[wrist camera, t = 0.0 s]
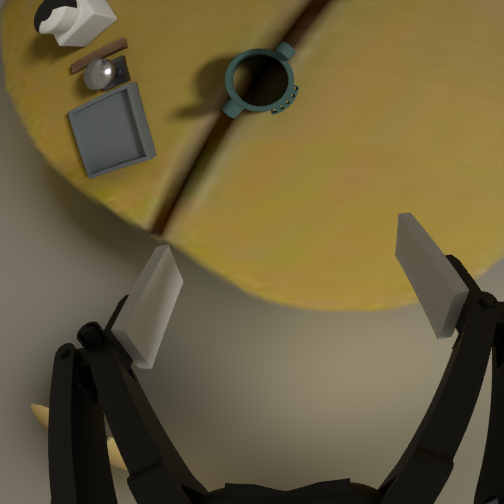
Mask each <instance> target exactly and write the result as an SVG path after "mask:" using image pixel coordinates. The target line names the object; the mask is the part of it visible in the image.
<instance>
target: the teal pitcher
mask: <svg viewBox="0 0 504 504" xmlns="http://www.w3.org/2000/svg"><path fill="white" fill-rule="evenodd" d="M294 54H295V50H294V49H293V48H292V47H291V46H290V45H288V44H287V43H285V42H282V43H281V44H280V45H279V46H278V47H277V48H276V52H274V51H271V50H267V49H251V50H247V51H245V52H243V53H241V54H239V55H238V56H236V57H235V58H234V59H233V60H232V62H231V63H230V64H229V66H228V68H227V71H226V74H225V85H226V89H227V92H228V94H229V95H230V97H231V98H232V99H231V100H229V101H228V102H227V103H226V104H225V105H224V107H223V108H222V110H223V111H224V112H225V113H226V114H227V115H229V116H230V117H232V118H236V117H237V116H238V115H239V114H240V113H241V112H242V110H243V109H244V108H245V109H248V110H251V111H259V112H262V111H268V110H271V113H272V114H273V115H274V114H277V113H280V112H281V111H283V110H285V109H286V108H288V107H289V106H290V105H291V104H292V103H293V101H294V100H295V98H296V96H297V94H298V90H299V87H298V86H296V85H294V75H293V71H292V69H291V67H290V65H289V63H288V62H287V61H288V60H289V59H290V58H291V57H292V56H293V55H294ZM256 55H266V56H270V57H272V58H275V59H276V60H278V61H279V62H280V63H281V64H282V65H283V66H284V68H285V69H286V72H287V75H288V85H287V89H286V91H285V93H284V94H283V96H282V97H281V98H280V99H279V100H277V101H276V102H274V103H272V104H269V105H265V106H255V105H251V104H249V103H247V102H245V101H244V100H242V99H241V98H240V97H239V96H238V94H237V93H236V91H235V89H234V85H233V76H234V72H235V70H236V68H237V67H238V65H239V64H240V63H241V62H242V61H244V60H245V59H247V58H249V57H252V56H256ZM294 87H296V90H294ZM291 94H293V97H291ZM287 100H288V101H289V102H288V103H286V101H287ZM281 105H282V106H283V107H282V108H280V106H281ZM274 109H276V111H273V110H274Z"/></svg>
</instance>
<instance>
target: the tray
mask: <svg viewBox="0 0 504 504" xmlns="http://www.w3.org/2000/svg"><path fill="white" fill-rule="evenodd" d="M68 115H69V118H70V122H71V125H72V129H73V132H74V135H75V138H76V142H77V145H78V148H79V151H80V154H81V157H82V160H83V163H84V166H85V169H86V171H87V174H88V177H89V179H91V178H94V177H97V176H99V175H102V174H105V173H108V172H111V171H114V170H117V169H120V168H123V167H127V166H130V165H133V164H136V163H140V162H143V161H146V160H150V159H152V158H153V157H155V156H156V155H157V154H156V151H155V147H154V144H153V141H152V137H151V134H150V130H149V127H148V123H147V120H146V116H145V112H144V109H143V105H142V101H141V97H140V93H139V90H138V86H137V83H128V84H126V85H124V86H121V87H119V88H117V89H114V90H112V91H110V92H108V93H105V94H103V95H101V96H99V97H97V98H95V99H93V100H91V101H89V102H87V103H85V104H83V105H81V106H79V107H77V108H75V109H73V110H72V111H70V112H68Z"/></svg>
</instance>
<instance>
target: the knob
mask: <svg viewBox="0 0 504 504" xmlns="http://www.w3.org/2000/svg"><path fill="white" fill-rule="evenodd" d="M128 81H131V80H130V76H129V72H128V68H127V63H126V59H125V56H120V57H118V58H115V59H113V60H111V61H110V60H108V59H96V60H94V61H92V62H91V63H90V64H89V65H88V66H87V68H86V70H85V73H84V82H85V84H86V86H87V87H88V88H90V89H92V90H98V89H104V91H108V90H110V89H112V88H114V87H116V86H119V85H121V84H123V83H126V82H128Z"/></svg>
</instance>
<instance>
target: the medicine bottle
mask: <svg viewBox="0 0 504 504" xmlns="http://www.w3.org/2000/svg"><path fill="white" fill-rule="evenodd" d="M116 20H117V17H116V16H115V14H114V12H113V11H112V9H111V8H110V6H109V5H108V3H107V1H106V0H44V1H43V2H42V4H41V5H40V6H39V8H38V10H37V12H36V14H35V17H34V26H35V29H36V31H37V32H38V33H41V34H53V35H54V37H55V39H56V41H57V42H58V44H59V46H80V47H86V46H87V45H88V44H89V43H90V42H91V41H93V40H94V39H95V38H96V37H97V36H98V35H99V34H100V33H102V32H103V31H104V30H105V29H106V28H107V27H109V26H110V25H111V24H112V23H114V22H115V21H116Z"/></svg>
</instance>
